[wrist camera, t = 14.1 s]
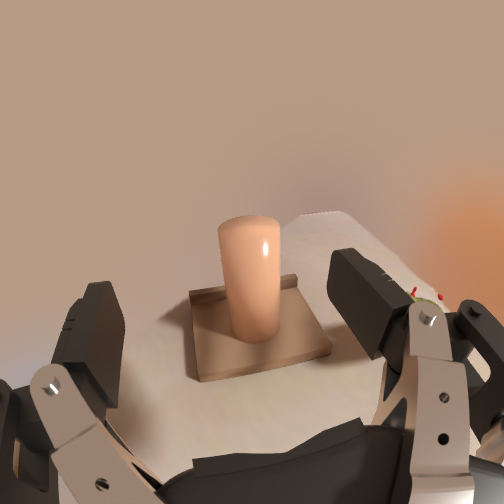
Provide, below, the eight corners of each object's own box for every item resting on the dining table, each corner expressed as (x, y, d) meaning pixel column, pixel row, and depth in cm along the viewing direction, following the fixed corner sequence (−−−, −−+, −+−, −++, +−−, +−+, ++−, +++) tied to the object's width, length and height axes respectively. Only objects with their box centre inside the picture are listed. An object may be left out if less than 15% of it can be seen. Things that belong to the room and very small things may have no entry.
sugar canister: (235, 347, 28) (221, 245, 22) (227, 314, 32) (215, 219, 27) (286, 337, 29) (288, 236, 23) (272, 306, 33) (270, 212, 27)
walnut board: (200, 382, 25) (195, 364, 24) (192, 308, 36) (188, 291, 34) (330, 354, 28) (334, 335, 26) (294, 291, 38) (295, 273, 37)
